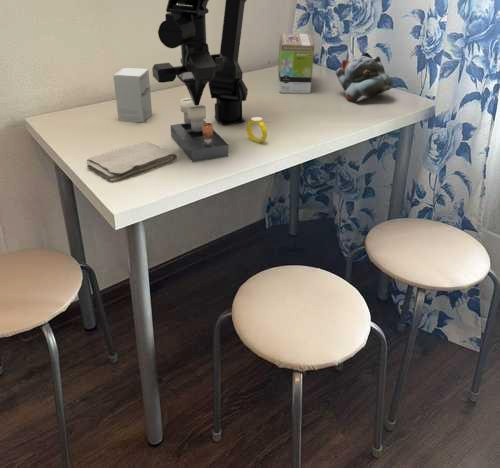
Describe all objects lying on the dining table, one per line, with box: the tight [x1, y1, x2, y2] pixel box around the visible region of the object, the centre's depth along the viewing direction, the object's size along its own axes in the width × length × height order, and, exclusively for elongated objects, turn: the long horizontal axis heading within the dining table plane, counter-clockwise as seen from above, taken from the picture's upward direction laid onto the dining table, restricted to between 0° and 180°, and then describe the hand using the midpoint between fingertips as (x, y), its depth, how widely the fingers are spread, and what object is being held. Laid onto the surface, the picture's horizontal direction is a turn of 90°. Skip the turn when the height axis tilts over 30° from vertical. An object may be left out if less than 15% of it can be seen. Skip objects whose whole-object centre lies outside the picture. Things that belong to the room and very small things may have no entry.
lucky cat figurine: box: [335, 52, 394, 104], centre depth 172 cm, size 15×12×14 cm
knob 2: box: [187, 103, 207, 131], centre depth 139 cm, size 4×4×6 cm
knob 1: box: [179, 96, 194, 124], centre depth 144 cm, size 4×4×6 cm
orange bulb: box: [202, 122, 214, 146], centre depth 134 cm, size 2×2×5 cm
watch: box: [246, 116, 268, 144], centre depth 144 cm, size 6×3×6 cm, turn 43°
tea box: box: [277, 33, 315, 94], centre depth 180 cm, size 15×10×15 cm
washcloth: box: [86, 140, 178, 183], centre depth 133 cm, size 12×18×3 cm, turn 134°
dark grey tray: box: [170, 119, 230, 163], centre depth 142 cm, size 9×17×3 cm, turn 23°
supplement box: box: [113, 67, 153, 123], centre depth 156 cm, size 7×7×13 cm
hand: (196, 105), depth 138 cm, fingers closed
